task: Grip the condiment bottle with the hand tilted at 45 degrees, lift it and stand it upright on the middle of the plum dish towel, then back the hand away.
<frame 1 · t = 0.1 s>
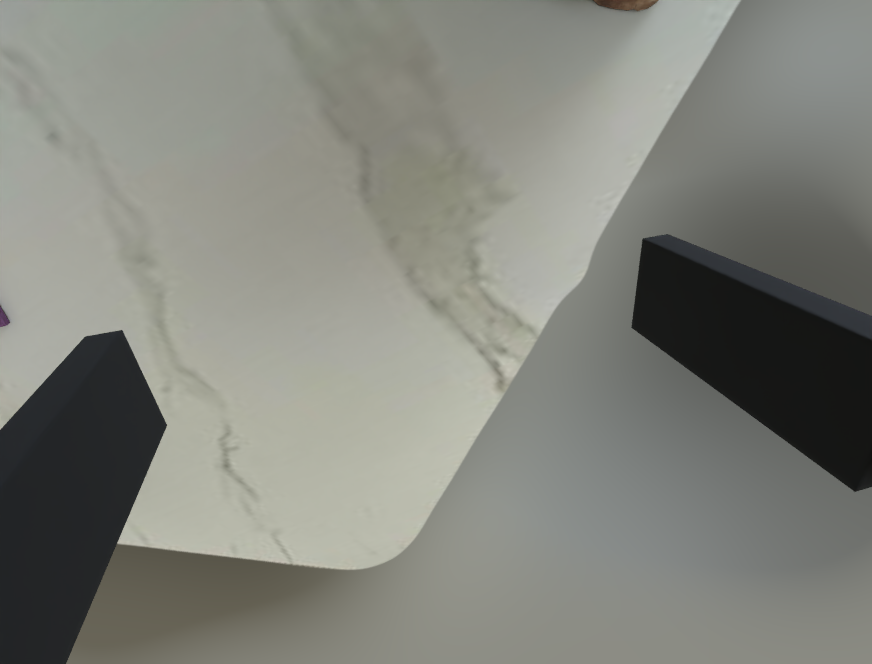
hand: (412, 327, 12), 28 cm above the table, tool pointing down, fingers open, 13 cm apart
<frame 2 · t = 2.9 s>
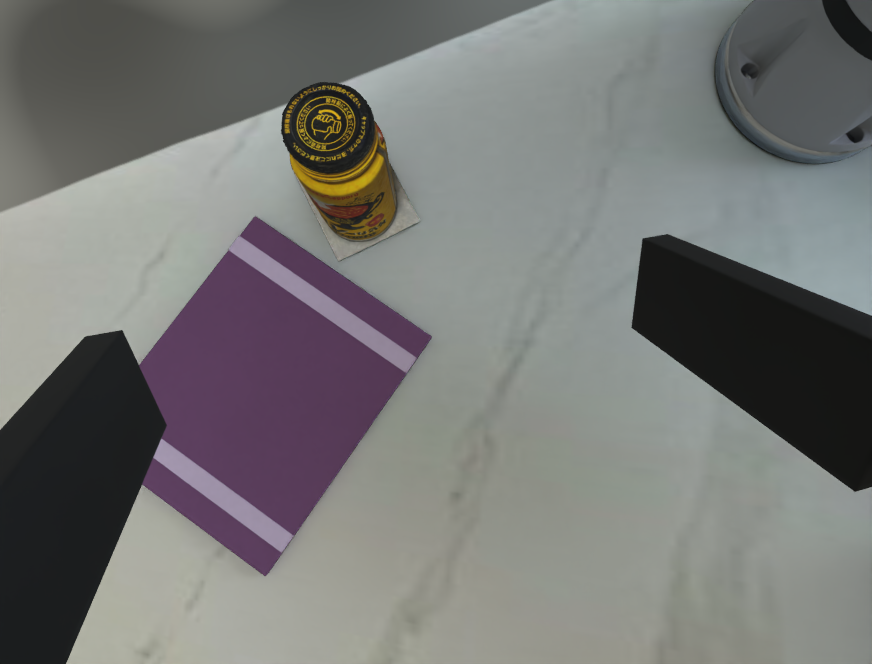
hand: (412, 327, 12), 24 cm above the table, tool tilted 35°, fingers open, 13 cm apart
towel: (262, 387, 36), on the table
condiment: (357, 198, 38), on the table
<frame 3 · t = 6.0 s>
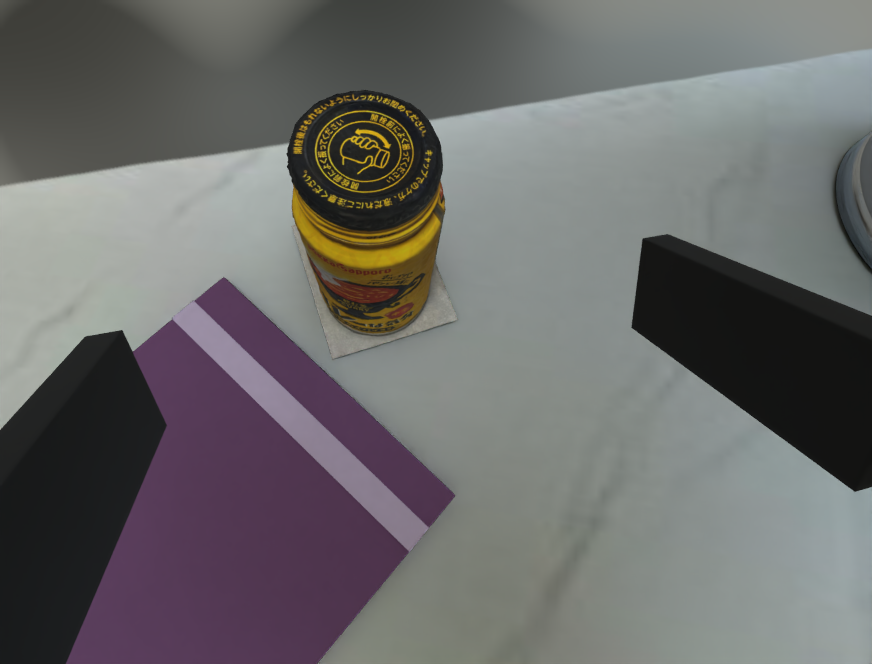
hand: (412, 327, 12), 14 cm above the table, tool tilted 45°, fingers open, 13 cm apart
towel: (173, 544, 22), on the table
condiment: (373, 275, 27), on the table
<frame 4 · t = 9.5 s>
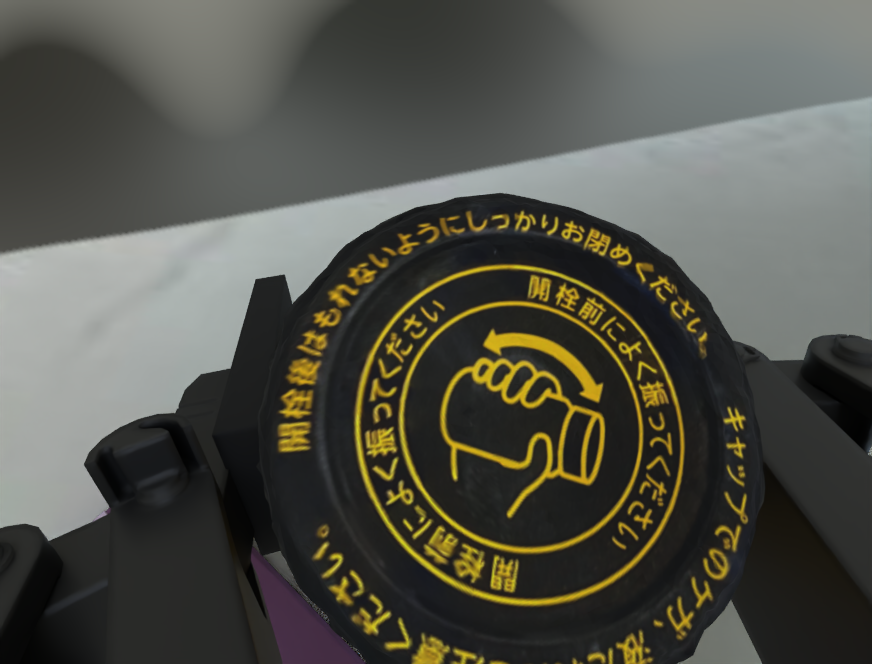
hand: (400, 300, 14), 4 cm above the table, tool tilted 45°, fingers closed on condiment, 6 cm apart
condiment: (419, 435, 16), on the table, touching gripper
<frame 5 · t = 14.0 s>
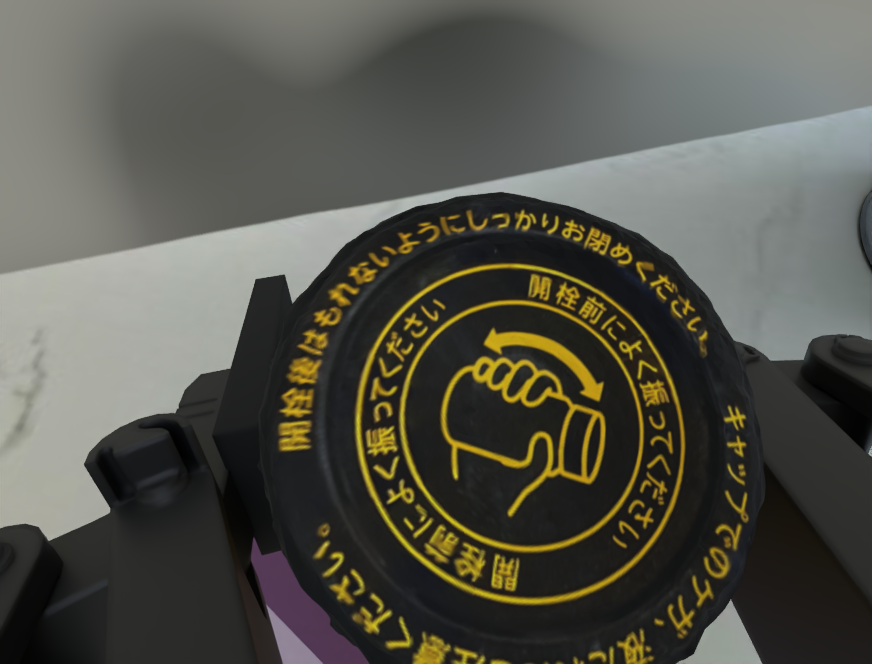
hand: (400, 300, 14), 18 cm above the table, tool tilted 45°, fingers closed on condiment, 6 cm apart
towel: (368, 514, 29), on the table
condiment: (419, 435, 16), point 15 cm above the table, touching gripper
when the fingers open (4 cm above the table, at t = 18.5 s): condiment stays where it is, resting on towel.
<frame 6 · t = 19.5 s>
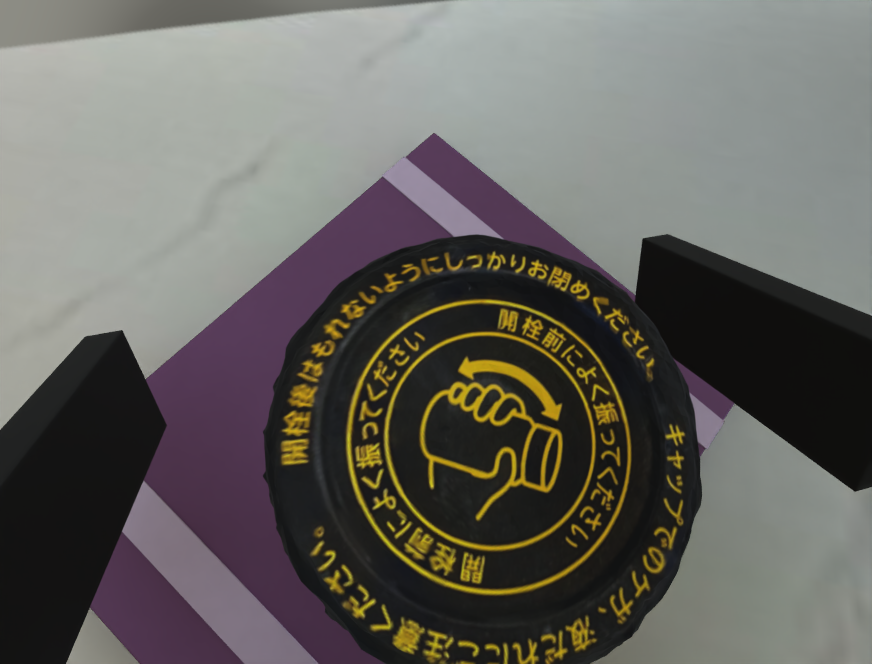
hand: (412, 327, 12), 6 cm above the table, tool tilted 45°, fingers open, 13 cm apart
towel: (415, 439, 17), on the table
condiment: (416, 439, 17), resting on towel
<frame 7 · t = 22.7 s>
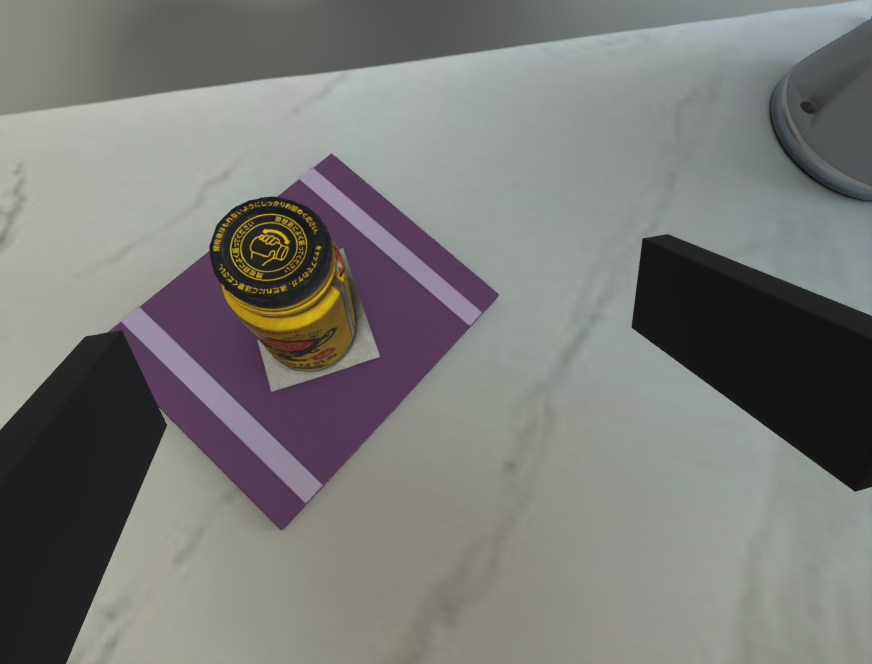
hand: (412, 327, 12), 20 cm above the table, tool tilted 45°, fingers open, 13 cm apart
towel: (310, 319, 32), on the table
condiment: (310, 318, 32), resting on towel
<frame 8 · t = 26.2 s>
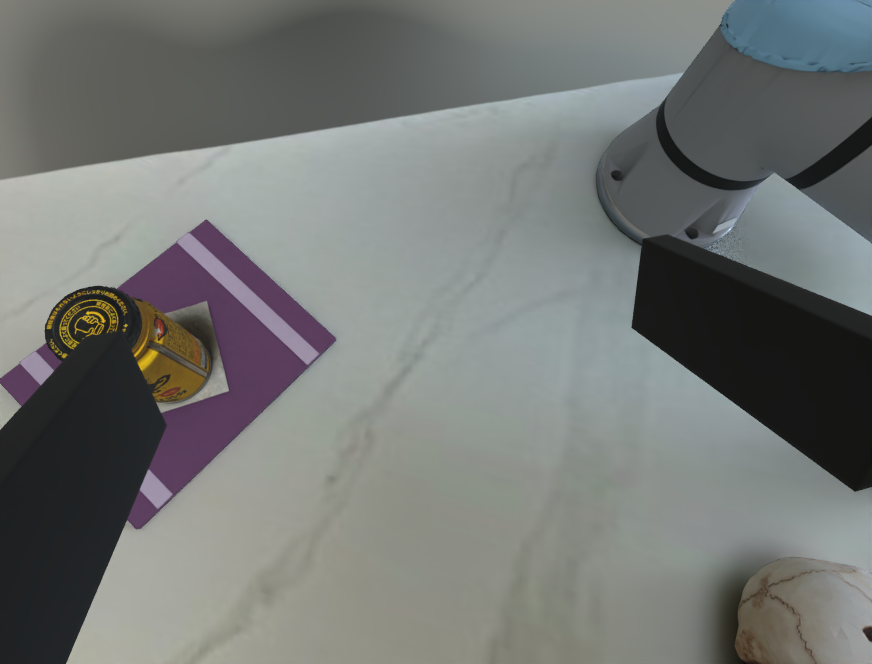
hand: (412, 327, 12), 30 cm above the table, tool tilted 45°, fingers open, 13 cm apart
towel: (177, 359, 40), on the table
condiment: (175, 359, 40), resting on towel
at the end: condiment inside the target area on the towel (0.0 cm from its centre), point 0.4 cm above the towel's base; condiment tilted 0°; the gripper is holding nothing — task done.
